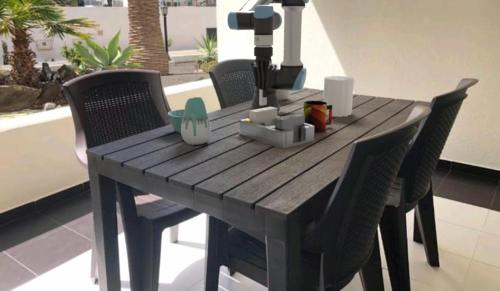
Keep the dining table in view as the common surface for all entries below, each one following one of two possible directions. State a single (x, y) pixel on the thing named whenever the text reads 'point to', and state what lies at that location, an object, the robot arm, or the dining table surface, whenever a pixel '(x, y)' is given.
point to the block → (263, 115)
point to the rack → (280, 131)
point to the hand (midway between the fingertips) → (263, 104)
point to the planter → (283, 94)
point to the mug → (317, 115)
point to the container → (339, 95)
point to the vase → (195, 122)
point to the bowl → (176, 119)
